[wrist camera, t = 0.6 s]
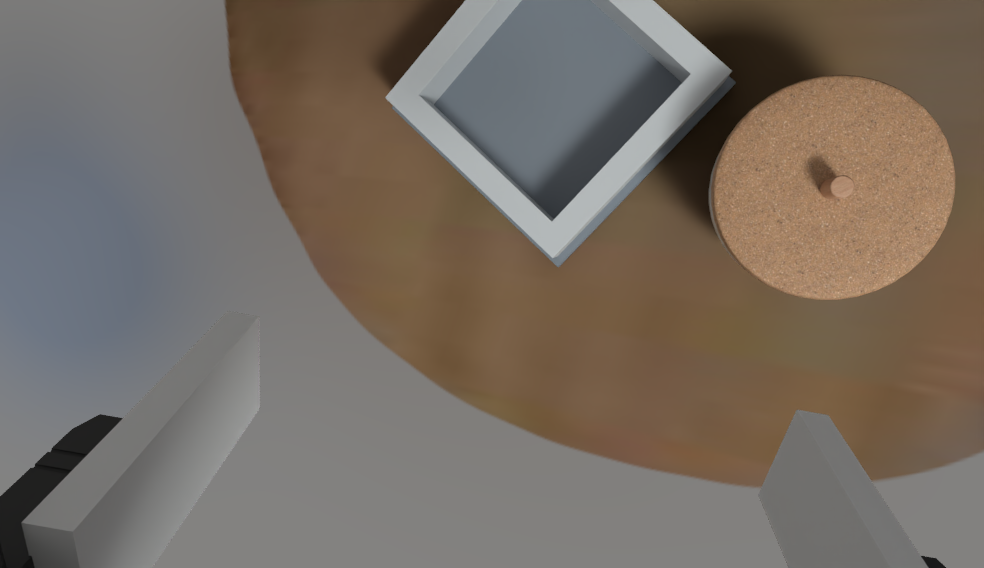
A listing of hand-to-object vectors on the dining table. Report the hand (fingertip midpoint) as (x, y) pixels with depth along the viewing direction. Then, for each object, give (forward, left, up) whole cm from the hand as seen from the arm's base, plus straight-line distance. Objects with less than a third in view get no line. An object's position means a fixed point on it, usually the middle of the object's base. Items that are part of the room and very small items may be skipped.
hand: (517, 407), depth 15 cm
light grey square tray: (-8, -10, -26) cm, 29 cm away
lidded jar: (-13, +5, -26) cm, 29 cm away
